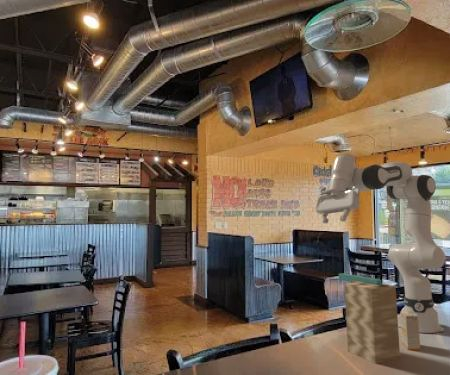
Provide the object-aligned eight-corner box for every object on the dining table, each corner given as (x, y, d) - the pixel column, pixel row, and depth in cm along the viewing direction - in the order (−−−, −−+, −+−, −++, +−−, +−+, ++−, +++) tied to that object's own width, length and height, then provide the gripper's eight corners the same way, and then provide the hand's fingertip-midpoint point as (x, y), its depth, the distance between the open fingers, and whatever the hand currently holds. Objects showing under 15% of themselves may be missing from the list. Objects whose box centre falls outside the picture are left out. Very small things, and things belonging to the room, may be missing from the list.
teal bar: (338, 279, 154) (338, 273, 154) (343, 278, 155) (342, 273, 155) (376, 287, 135) (376, 280, 135) (381, 286, 136) (381, 279, 136)
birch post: (348, 351, 141) (344, 281, 144) (371, 346, 146) (367, 278, 149) (375, 363, 129) (371, 286, 131) (400, 357, 133) (395, 283, 136)
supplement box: (421, 350, 140) (418, 316, 142) (407, 350, 141) (405, 315, 143) (414, 343, 148) (412, 310, 150) (402, 343, 149) (399, 310, 151)
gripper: (365, 189, 140) (360, 222, 135) (326, 196, 157) (321, 226, 153) (354, 182, 137) (348, 216, 133) (316, 191, 155) (310, 221, 150)
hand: (333, 221), depth 143 cm, fingers open, 8 cm apart
